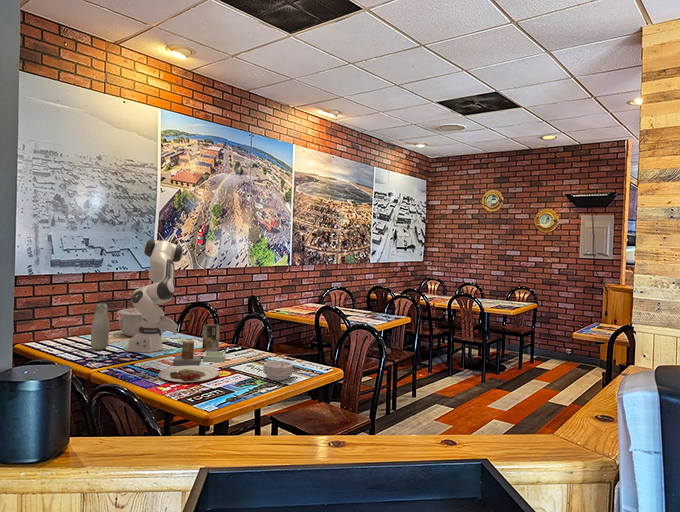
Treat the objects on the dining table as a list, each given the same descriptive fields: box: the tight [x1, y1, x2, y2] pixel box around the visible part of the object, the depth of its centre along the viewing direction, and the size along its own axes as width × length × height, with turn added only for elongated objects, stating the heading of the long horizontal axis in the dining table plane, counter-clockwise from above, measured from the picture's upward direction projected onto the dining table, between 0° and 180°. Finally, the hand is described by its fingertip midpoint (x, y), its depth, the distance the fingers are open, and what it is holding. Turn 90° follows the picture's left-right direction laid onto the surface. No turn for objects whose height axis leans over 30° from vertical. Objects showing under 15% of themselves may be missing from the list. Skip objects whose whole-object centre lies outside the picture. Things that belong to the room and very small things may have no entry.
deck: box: [172, 355, 202, 367], centre depth 276 cm, size 14×10×3 cm
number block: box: [181, 339, 195, 360], centre depth 276 cm, size 4×5×10 cm
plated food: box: [157, 365, 220, 384], centre depth 253 cm, size 30×30×3 cm
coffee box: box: [201, 323, 221, 352], centre depth 311 cm, size 9×6×16 cm
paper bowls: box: [263, 360, 294, 382], centre depth 257 cm, size 15×15×8 cm
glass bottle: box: [90, 303, 111, 351], centre depth 297 cm, size 10×10×28 cm
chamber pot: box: [116, 307, 143, 338], centre depth 344 cm, size 28×28×21 cm
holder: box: [202, 351, 226, 363], centre depth 289 cm, size 12×12×3 cm
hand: (170, 332), depth 266 cm, fingers open, 8 cm apart
